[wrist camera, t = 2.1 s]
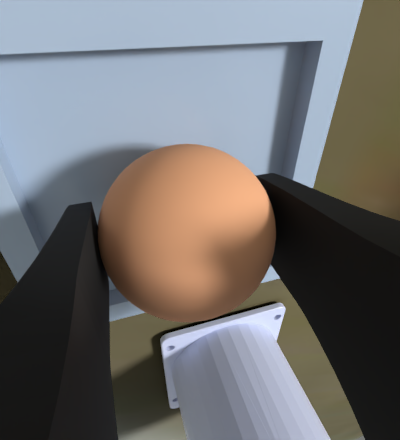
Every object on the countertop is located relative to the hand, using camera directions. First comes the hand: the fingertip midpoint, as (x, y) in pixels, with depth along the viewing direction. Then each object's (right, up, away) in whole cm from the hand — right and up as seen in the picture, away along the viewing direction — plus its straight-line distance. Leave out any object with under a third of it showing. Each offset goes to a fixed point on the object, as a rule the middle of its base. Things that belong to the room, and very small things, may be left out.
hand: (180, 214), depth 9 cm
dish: (-1, +2, +2) cm, 3 cm away
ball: (-1, +1, +1) cm, 2 cm away
